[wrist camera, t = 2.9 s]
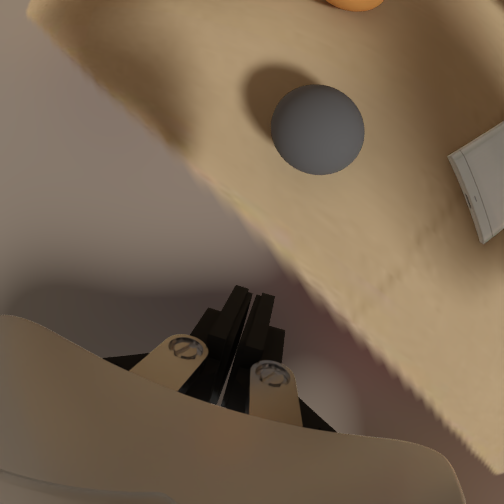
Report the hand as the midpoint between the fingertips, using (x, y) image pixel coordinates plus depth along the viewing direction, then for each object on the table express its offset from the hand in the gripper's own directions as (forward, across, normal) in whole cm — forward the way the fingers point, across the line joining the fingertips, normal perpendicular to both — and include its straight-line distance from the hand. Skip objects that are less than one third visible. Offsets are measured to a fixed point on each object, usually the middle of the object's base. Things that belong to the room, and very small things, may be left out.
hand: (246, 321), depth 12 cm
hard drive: (+12, -19, -14) cm, 26 cm away
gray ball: (+8, -1, -10) cm, 13 cm away
